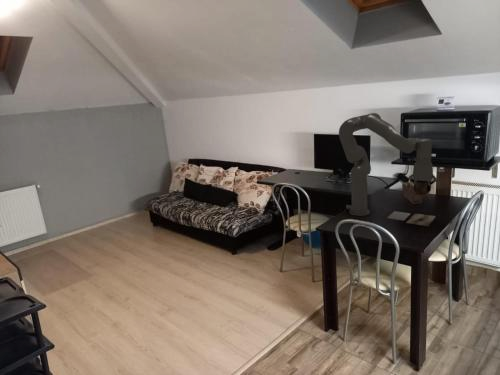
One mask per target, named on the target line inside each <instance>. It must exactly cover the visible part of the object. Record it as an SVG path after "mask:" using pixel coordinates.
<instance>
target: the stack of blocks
mask: <svg viewBox="0 0 500 375" xmlns="http://www.w3.org/2000/svg"><path fill="white" fill-rule="evenodd" d="M401 187H402V188H401V192H402V197H404V198H405V199H406V200H408V201H409V202H410V203H411V204H412V205H418V204H419V205H420V204H423V202H424V195H421V194H415V189H414V184H413V182H412V181H407V182H402V184H401Z"/></svg>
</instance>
